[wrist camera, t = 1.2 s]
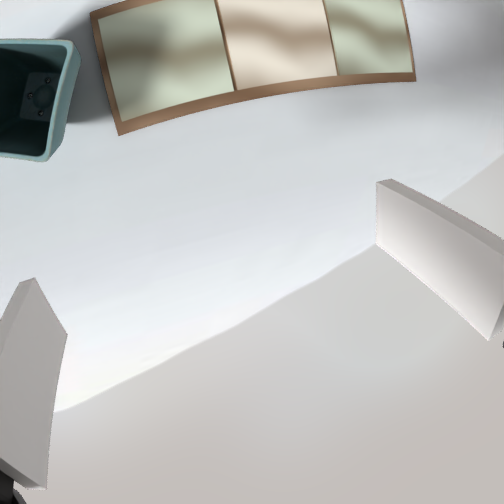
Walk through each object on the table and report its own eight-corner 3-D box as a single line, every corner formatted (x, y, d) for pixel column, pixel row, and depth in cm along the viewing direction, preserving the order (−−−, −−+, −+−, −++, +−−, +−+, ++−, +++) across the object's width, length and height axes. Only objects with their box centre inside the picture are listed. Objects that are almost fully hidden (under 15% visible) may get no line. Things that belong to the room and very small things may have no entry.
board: (90, 14, 20) (88, 11, 20) (395, -14, 25) (400, -15, 25) (119, 135, 27) (118, 136, 26) (412, 81, 32) (417, 81, 31)
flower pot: (98, 56, 23) (75, 39, 15) (77, 145, 26) (48, 164, 18) (20, 50, 20) (-23, 39, 12) (2, 137, 23) (-44, 154, 15)
